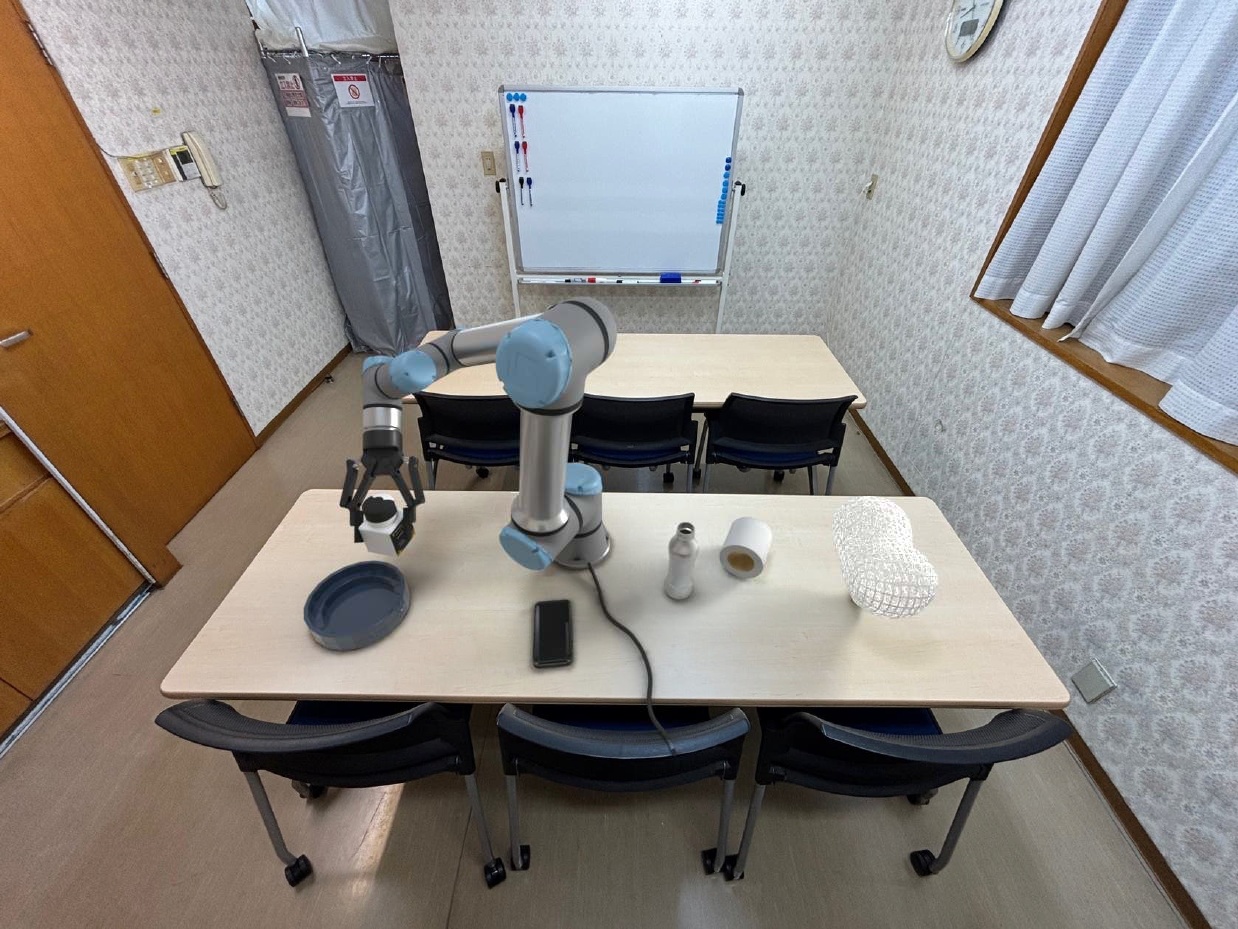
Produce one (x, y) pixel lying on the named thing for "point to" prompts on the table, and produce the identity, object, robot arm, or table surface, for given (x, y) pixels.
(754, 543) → the toilet paper
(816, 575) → the table surface
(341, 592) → the bowl
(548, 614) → the phone
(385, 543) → the medicine bottle
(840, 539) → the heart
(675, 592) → the plastic bottle
